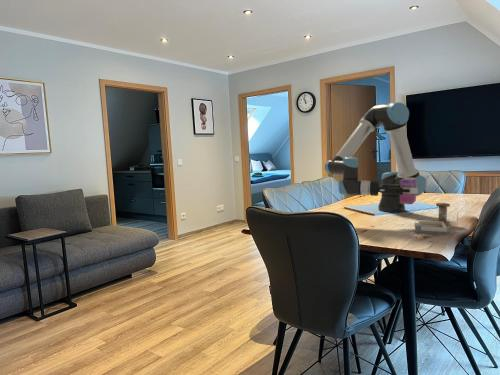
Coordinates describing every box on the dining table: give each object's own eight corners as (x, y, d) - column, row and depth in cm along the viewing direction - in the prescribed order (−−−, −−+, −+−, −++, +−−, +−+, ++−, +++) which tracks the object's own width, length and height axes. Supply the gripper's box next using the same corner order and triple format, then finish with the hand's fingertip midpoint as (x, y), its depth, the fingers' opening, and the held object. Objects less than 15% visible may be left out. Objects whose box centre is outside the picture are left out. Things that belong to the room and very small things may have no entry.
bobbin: (436, 224, 181) (436, 204, 180) (435, 222, 187) (435, 202, 186) (449, 225, 179) (450, 205, 178) (448, 222, 185) (449, 203, 183)
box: (412, 204, 174) (413, 179, 173) (399, 203, 177) (400, 179, 176) (416, 201, 183) (416, 177, 181) (404, 200, 186) (404, 177, 185)
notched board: (416, 233, 166) (416, 227, 166) (414, 225, 182) (414, 219, 181) (451, 235, 161) (451, 229, 161) (446, 226, 177) (446, 221, 176)
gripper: (372, 192, 198) (416, 193, 189) (367, 198, 176) (417, 200, 168) (372, 178, 197) (417, 179, 188) (367, 183, 175) (418, 184, 167)
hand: (417, 189), depth 178 cm, fingers closed on box, 11 cm apart
